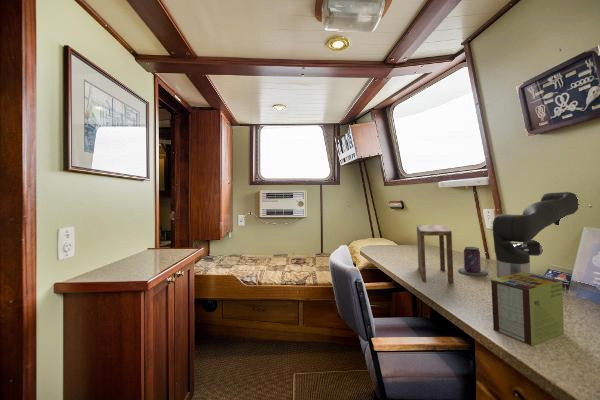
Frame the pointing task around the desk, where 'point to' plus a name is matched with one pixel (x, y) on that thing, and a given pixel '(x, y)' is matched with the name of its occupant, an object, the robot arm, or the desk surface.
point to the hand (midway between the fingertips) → (497, 246)
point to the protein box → (527, 307)
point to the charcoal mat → (480, 273)
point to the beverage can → (472, 259)
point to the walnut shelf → (441, 232)
